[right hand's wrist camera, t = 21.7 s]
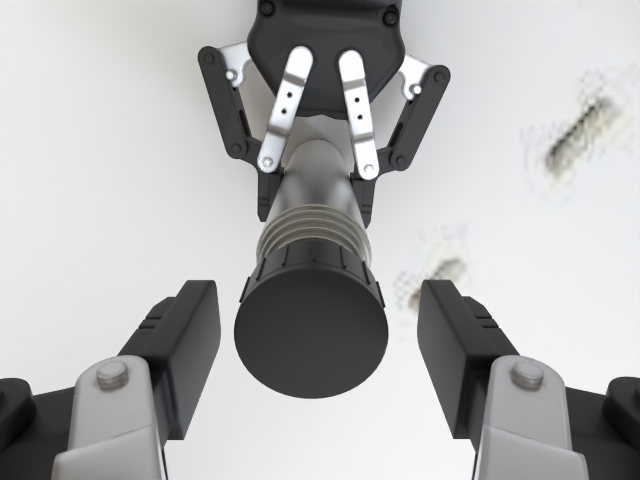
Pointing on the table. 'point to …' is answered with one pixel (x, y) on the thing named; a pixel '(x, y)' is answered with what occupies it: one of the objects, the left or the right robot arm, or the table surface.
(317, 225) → the bottle
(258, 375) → the cap
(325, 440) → the table surface
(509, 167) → the table surface
